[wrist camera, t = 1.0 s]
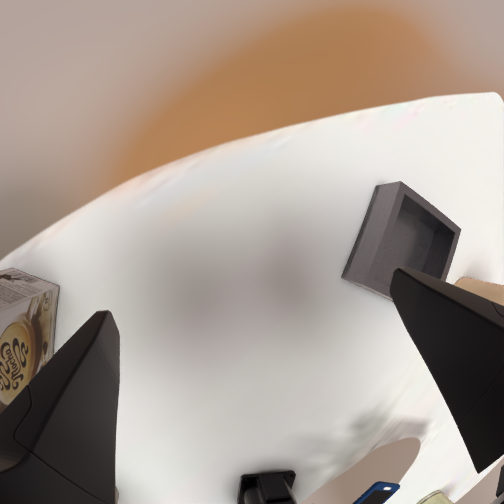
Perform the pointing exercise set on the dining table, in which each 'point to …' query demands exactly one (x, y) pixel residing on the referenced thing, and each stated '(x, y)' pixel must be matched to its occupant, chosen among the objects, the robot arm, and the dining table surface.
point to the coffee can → (435, 499)
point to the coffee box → (24, 330)
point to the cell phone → (378, 493)
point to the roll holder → (400, 239)
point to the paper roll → (483, 289)
